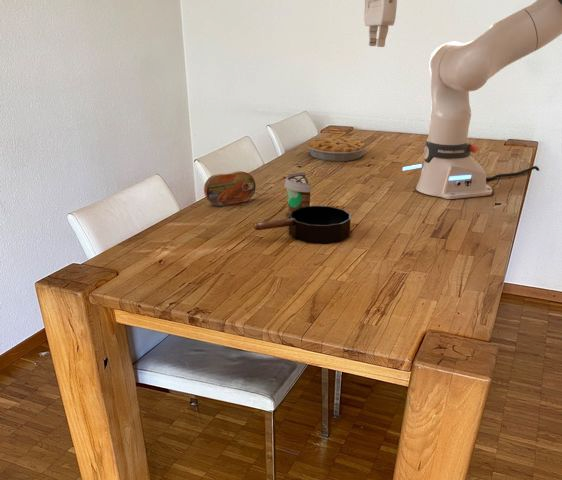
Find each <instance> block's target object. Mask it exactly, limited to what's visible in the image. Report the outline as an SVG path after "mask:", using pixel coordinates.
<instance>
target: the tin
mask: <svg viewBox="0 0 562 480" xmlns="http://www.w3.org/2000/svg"><path fill="white" fill-rule="evenodd" d="M256 189H257V188H256V181H255V178H254V177H253V176H252V175H251V174H250V173H249V172H245V171H241V170H239V171H232V172H225V173H218V174H214V175H211V176H209V177H208V178H207V179H206V181H205V182H204V187H203V194H204V197H205V199H206V200H207V201H208V202H209V203H210V204H212V205H213V206H216V207H224V206H229V205H235V204H241V203H246V202H248V201H250V200H251V199H252V198H253V196H254V194H255V192H256Z"/></svg>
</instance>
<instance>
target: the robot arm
mask: <svg viewBox="0 0 562 480" xmlns="http://www.w3.org/2000/svg"><path fill="white" fill-rule="evenodd" d="M397 8H398V0H364V9H363V10H364V11H363V13H364V14H363V22H364V26H365V27H368V46H369V47H378V48H384V47H385V46H386V39H387V36H388V33H389V27H392V26H394V25H395V23H396V18H397V10H398V9H397ZM377 35H378V36H377ZM561 35H562V0H535V1H534V2H532V4H529V5H528V6H526V7H524V8H521V9H520V10H518V11H516V12H514V13H512V14H510V15H508V16H506V17H505V18H503V19H501V20H499V21H497V22H495V23H493V24H491V25H490V27H489V28H488V29H486V31H485V32H483V33H481V35H479V36H478V37H476V38H475V39H473V40H471V41H468V42H465V43H462V42H459V41H450V42H446V43H444V44H442V45H440V46H438V47H437V48H436V49H435V50H434V51H433V52H432V53H431V56H430V58H429V64H428V67H429V68H428V69H429V73H430V101H431V102H430V103H431V108H430V120H429V130H428V136H427V139H426V140H425V145H424V146H425V147H424V151H423V164H422V163H419V164H414V165H407V166H403V167H402V171H409V170H415V169H420V168H421V172H420V175H419V179H418V181H417V184H416V186H415V190H416V191H417V192H419V193H421V194H424V195H428V196H431V197H432V196H433V197H438V198H443V199H446V200H457V199H465V198H474V197H475V198H477V197H484V196H485V197H486V196H492V195H493V189H492V187H491V186H490V185H489V184H487V181H493V180H496V179H498V178H506V177H515V176H520V175H523V174H526V173H529V172H531V171H534V170H535V171H537V172H539V171H540V168H539V166H537V165H533V166H531V167H529V168H526V169H522V170H520V171H515V172H508V173H500V174H495V175H493V176H490V177H487V173H486V170H485V168H484V167H483V166H482V165H481V164H480V163H478V161H477V160H476V159H475V158H474V157H472V155H471V153H472V154H476V153H477V152H478V151H479V147H478V146H477V145H475V144H471V143H470V142H468V136H469V130H470V124H471V120H472V119H471V118H472V109H471V105H470V92H475V91H478V90H479V89H481V88H482V87H484V85H486V84H487V82H488V81H489V79H491V78H492V77H494V76H495V75H496V74H497V73H499V72H500V71H502V69H505V68H506V67H508V66H509V65H511V64H513V63H515V62H517V61H519V60H521V59H523V58H525V57H526V56H529V55H530V54H533V53H535V52H537V51H538V50H540V49H542V48H543V47H545V46H547V45H548V44H550V43H551V42H553V41H554V40H555V39H557V38H558V37H560V36H561Z"/></svg>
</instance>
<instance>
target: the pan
mask: <svg viewBox="0 0 562 480" xmlns="http://www.w3.org/2000/svg"><path fill="white" fill-rule="evenodd" d="M351 218H352V214H351V213H350V212H348V211H346V209H343V208H340V207H335V206H330V205H310V206H308V207H301V208H298V209H296V210H293V211H291V213H290V216H289V215H288V217H287V218H282V219H281V218H280V219H273V220H266V221H259V222H255V223H254V225H253V228H254V230H256V231H263V230H270V229H271V230H272V229H278V228H285V227H288V235H289V236H290V237H292V238H293V239H294V240H296V241H300V242H303V243H307V244H314V245H315V244H316V245H327V244H328V245H329V244H335V243H341V242H342V241H345V240H347V239H349V238H350V233H351Z"/></svg>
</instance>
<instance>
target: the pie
mask: <svg viewBox="0 0 562 480" xmlns="http://www.w3.org/2000/svg"><path fill="white" fill-rule="evenodd" d="M306 147H307V149H308V150H309V153H310V155H311V157H313V158H315V159H319V160H323V161H330V162H331V161H332V162H348V161H354V160H358V159H360V158H361V157H362V156H363V154H364V152H365V151H366V149H367V148H368V146H367V143H366V142H365V141H364V140H359V139H358V138H350V137H348V136H346V137H340V136H334V137H330V136H325V137H323V138H317V137H316V138H315V139H311V140H310V141H308V142H307V145H306Z"/></svg>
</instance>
